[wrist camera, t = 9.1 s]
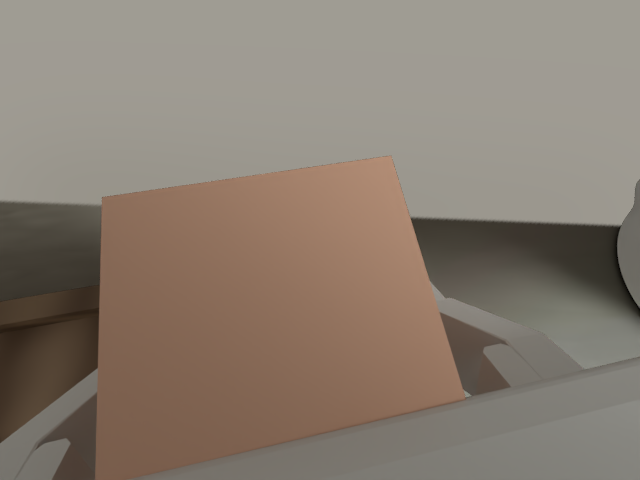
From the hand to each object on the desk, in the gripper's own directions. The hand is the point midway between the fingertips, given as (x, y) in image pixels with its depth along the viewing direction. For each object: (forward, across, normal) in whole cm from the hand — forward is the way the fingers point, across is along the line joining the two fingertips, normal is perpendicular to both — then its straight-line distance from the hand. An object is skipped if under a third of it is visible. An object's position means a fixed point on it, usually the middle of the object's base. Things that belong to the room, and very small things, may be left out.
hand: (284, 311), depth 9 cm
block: (+3, 0, +4) cm, 5 cm away
